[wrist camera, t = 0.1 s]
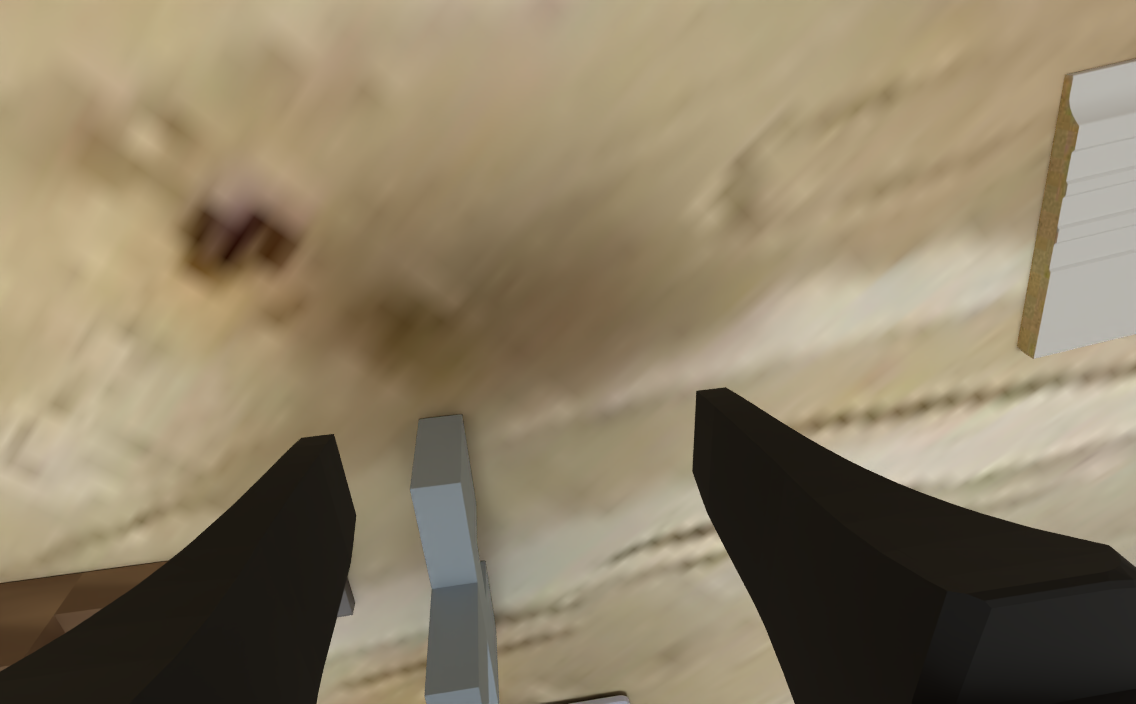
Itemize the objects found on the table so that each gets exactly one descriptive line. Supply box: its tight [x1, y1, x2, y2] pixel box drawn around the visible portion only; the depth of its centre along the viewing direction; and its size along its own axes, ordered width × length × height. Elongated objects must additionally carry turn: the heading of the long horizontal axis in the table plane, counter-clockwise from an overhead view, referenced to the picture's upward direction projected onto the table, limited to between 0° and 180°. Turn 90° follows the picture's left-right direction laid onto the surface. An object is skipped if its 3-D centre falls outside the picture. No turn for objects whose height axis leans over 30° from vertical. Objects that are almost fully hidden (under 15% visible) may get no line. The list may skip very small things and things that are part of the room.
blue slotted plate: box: [410, 414, 499, 704], centre depth 23 cm, size 12×2×8 cm, turn 3°
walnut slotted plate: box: [0, 561, 355, 671], centre depth 23 cm, size 6×16×4 cm, turn 94°
